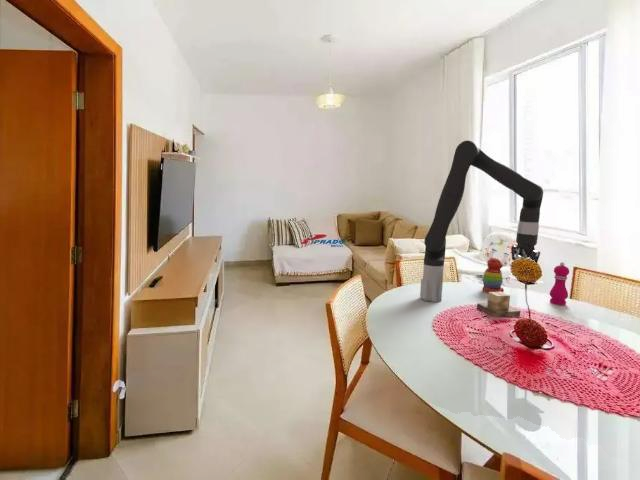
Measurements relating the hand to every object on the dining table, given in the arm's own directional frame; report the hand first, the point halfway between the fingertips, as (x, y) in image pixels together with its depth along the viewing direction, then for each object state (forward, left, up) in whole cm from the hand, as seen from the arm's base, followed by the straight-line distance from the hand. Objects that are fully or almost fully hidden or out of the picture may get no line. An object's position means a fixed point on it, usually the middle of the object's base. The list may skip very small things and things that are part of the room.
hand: (522, 272), depth 146 cm
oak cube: (-6, +5, -17) cm, 18 cm away
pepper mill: (+31, +12, -19) cm, 38 cm away
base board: (-6, +5, -19) cm, 20 cm away
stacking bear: (+13, +35, -19) cm, 42 cm away
